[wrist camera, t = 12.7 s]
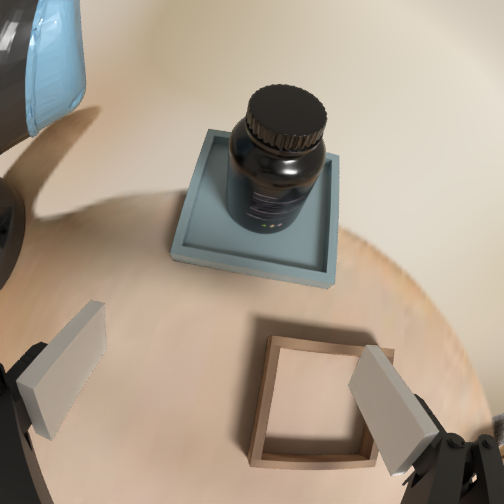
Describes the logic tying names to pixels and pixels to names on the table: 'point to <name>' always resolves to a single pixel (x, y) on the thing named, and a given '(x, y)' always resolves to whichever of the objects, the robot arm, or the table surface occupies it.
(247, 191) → the supplement bottle
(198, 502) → the table surface
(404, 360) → the table surface
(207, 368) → the table surface
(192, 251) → the tray
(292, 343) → the frame
